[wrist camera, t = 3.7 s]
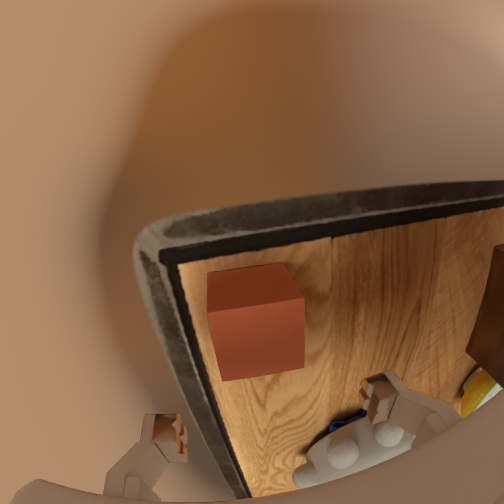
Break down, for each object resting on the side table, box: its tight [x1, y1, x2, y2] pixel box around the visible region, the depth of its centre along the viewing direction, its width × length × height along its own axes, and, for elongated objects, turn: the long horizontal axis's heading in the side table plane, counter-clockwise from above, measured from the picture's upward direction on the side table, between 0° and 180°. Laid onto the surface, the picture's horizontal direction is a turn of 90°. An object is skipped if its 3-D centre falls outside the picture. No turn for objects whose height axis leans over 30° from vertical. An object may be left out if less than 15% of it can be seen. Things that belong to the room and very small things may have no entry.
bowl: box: [461, 368, 503, 419], centre depth 27 cm, size 11×12×6 cm
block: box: [207, 263, 305, 381], centre depth 17 cm, size 5×5×5 cm
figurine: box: [292, 410, 416, 489], centre depth 25 cm, size 17×8×20 cm
